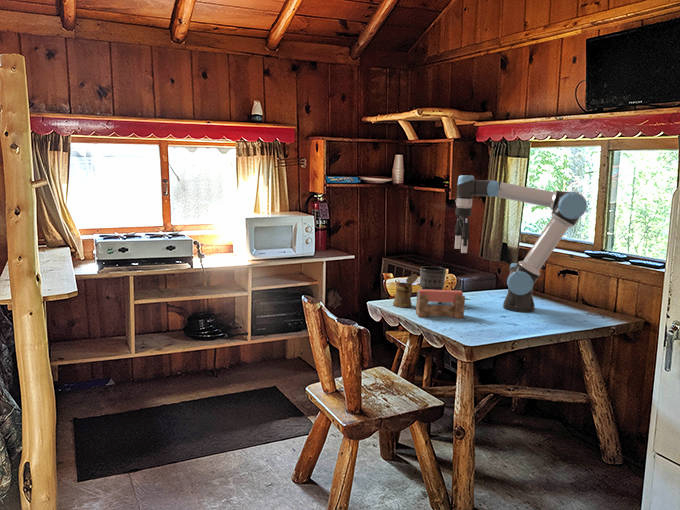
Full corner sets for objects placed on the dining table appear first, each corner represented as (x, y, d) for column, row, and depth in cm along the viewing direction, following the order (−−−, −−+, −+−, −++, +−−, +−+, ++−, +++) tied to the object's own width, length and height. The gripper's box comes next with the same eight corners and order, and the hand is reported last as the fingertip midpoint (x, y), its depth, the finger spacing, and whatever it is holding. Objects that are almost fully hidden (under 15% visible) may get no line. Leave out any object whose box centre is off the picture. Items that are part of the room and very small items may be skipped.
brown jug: (405, 310, 285) (407, 273, 282) (389, 304, 296) (391, 268, 293) (420, 309, 289) (422, 272, 286) (403, 302, 301) (406, 268, 298)
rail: (460, 301, 278) (461, 290, 278) (462, 302, 275) (462, 292, 274) (417, 299, 278) (418, 289, 277) (418, 301, 274) (419, 290, 273)
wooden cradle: (459, 314, 282) (461, 292, 280) (463, 318, 274) (465, 296, 273) (415, 313, 281) (417, 291, 279) (418, 317, 273) (419, 294, 272)
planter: (447, 302, 306) (449, 268, 303) (437, 306, 295) (439, 271, 293) (424, 298, 313) (426, 265, 310) (413, 302, 302) (416, 268, 299)
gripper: (450, 205, 299) (447, 246, 302) (462, 209, 274) (458, 254, 278) (465, 205, 299) (462, 247, 303) (478, 209, 275) (474, 254, 278)
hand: (460, 250), depth 290 cm, fingers open, 13 cm apart
